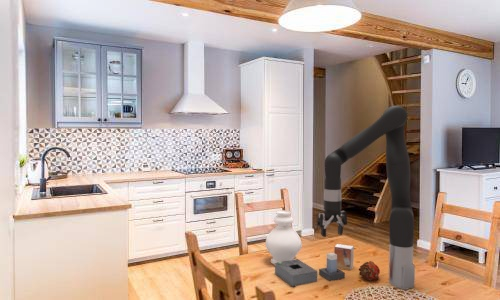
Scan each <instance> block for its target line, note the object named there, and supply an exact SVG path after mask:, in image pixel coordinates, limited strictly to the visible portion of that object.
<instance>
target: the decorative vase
mask: <svg viewBox="0 0 500 300" xmlns="http://www.w3.org/2000/svg"><path fill="white" fill-rule="evenodd" d="M275 214H276V216H275V217H274V219H273V221H274V223H275V224H276V226H275V227H274V228H273V229H272V230H270V232H269V234H268V235H267V237H266V238H265V248H266V250H267V252H268V253H269V254H270V256H271V257H272V258H271V259H270V263H271V264H272V265H274V266H275V263H277V262H283V261H289V260H295V259H296V256H297V255H298V253H299V252H300V251H301V249H302V243H303V242H302V240H301V237H300V235H299V234H298V232H297V231H296V230H295V229H294V228H293V227H292V226H291V225H292V224H293V223H294V218H293V217H292V216H291V215H292V211H290V210H287V209H285V210H284V209H283V210H282V209H280V210H276V212H275Z"/></svg>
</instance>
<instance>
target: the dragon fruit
mask: <svg viewBox="0 0 500 300" xmlns="http://www.w3.org/2000/svg"><path fill="white" fill-rule="evenodd" d="M358 271H359V273H358V274H359V276H361V277H362V278H363V279H364V280H366V281H376V280H378V279H379V275H380V271H381V270H380V267H379V266H378V265H377V264H376V263H375V262H373V261H371V260H369V261H366V262H364V263H363V264H362V265H360V266H359V267H358Z"/></svg>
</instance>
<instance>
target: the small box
mask: <svg viewBox="0 0 500 300" xmlns="http://www.w3.org/2000/svg"><path fill="white" fill-rule="evenodd" d="M354 248H355V247H354V245H348V244H347V245H346V244H340V243H337V244H336V245H335V246H334V248H333V251H334V252H333V253H335V254H337V268H338V269H339V270H341V269H342V270H347V271H352V270H353V267H354V250H355V249H354Z"/></svg>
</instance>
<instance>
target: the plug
mask: <svg viewBox="0 0 500 300" xmlns="http://www.w3.org/2000/svg"><path fill="white" fill-rule="evenodd" d="M326 268H327V272H329V273H335V272H337V254H335V253H334V252H328V253H326Z"/></svg>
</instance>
